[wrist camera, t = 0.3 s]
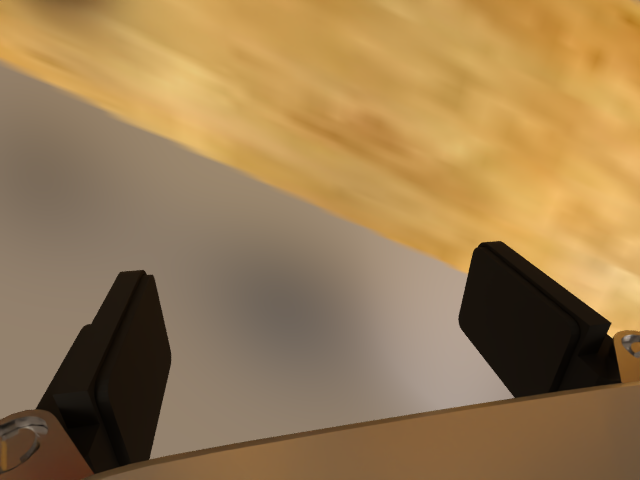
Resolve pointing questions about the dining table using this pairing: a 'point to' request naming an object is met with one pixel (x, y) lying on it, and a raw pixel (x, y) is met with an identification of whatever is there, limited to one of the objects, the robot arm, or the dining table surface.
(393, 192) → the dining table surface
